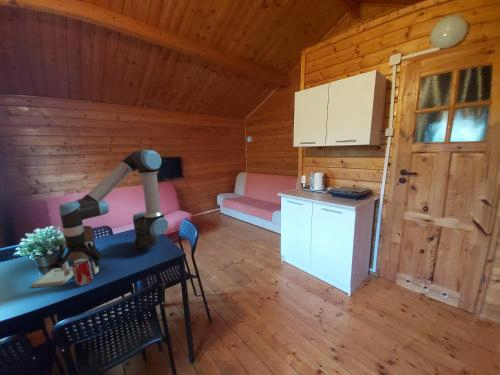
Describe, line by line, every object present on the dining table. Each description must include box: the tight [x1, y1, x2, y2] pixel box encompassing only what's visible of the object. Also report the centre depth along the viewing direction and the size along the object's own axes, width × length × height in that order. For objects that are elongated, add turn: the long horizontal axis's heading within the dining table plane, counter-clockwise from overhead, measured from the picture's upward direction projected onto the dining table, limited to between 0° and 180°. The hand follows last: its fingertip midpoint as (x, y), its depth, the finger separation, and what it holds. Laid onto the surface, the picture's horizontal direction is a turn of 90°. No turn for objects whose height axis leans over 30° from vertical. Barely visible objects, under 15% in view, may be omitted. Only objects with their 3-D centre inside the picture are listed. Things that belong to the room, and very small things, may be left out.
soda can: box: [71, 258, 94, 287], centre depth 108 cm, size 7×7×12 cm
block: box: [63, 225, 96, 263], centre depth 132 cm, size 10×10×20 cm
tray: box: [31, 266, 74, 289], centre depth 114 cm, size 14×14×2 cm
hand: (82, 273), depth 108 cm, fingers open, 13 cm apart
